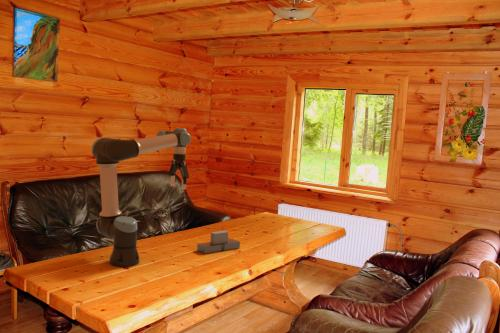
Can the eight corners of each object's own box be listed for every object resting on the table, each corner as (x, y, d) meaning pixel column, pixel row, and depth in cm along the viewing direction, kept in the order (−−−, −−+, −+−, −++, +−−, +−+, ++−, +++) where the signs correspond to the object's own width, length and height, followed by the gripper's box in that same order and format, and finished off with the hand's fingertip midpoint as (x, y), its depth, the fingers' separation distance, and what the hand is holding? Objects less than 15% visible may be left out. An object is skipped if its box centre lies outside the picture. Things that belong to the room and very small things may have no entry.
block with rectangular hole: (204, 254, 250) (204, 247, 250) (196, 250, 256) (197, 243, 256) (239, 248, 267) (240, 241, 266) (231, 244, 273) (232, 238, 273)
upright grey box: (213, 250, 257) (214, 233, 256) (210, 248, 260) (210, 232, 259) (227, 248, 263) (228, 232, 262) (223, 246, 266) (224, 230, 265)
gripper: (195, 155, 258) (194, 190, 259) (174, 151, 277) (173, 184, 278) (184, 155, 253) (183, 191, 255) (164, 151, 272) (162, 185, 274)
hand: (177, 187), depth 267 cm, fingers open, 13 cm apart
